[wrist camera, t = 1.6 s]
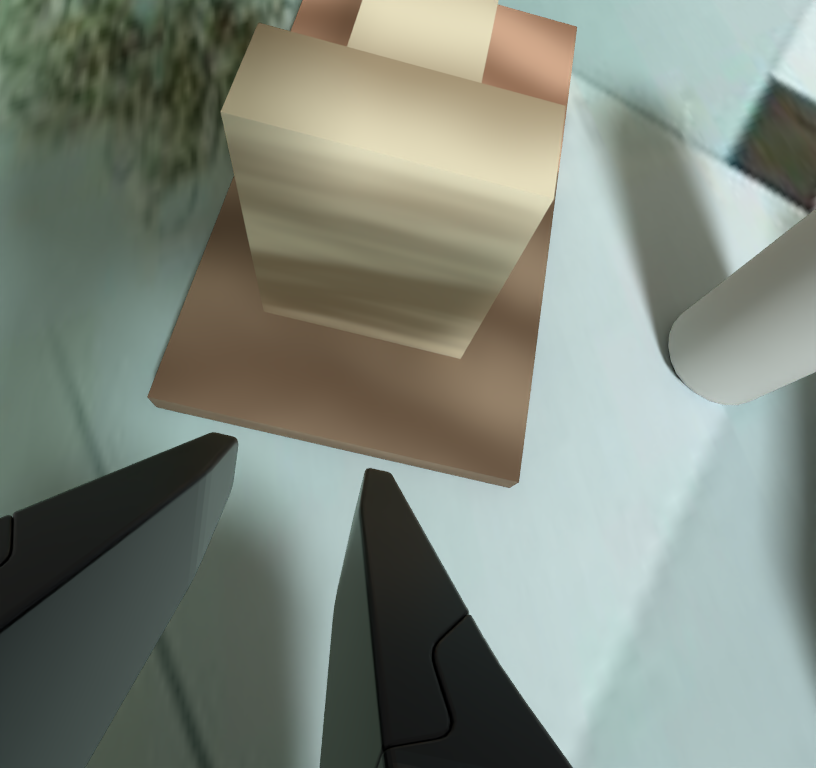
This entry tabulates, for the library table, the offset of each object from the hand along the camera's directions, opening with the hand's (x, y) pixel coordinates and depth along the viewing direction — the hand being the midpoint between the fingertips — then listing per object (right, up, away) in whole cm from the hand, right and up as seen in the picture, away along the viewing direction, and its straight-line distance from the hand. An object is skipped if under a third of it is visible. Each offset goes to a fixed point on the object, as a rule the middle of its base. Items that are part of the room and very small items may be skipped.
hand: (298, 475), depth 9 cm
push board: (+1, +10, +18) cm, 20 cm away
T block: (+1, +8, +15) cm, 17 cm away
